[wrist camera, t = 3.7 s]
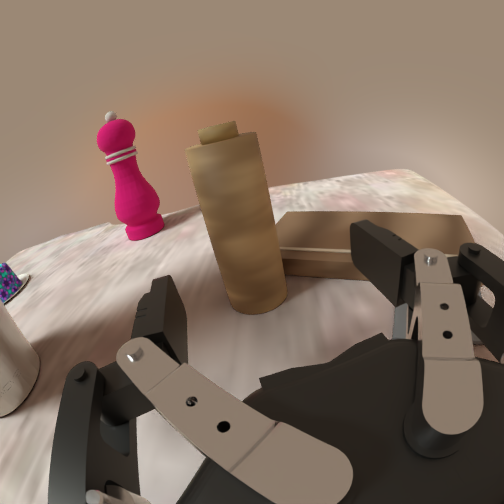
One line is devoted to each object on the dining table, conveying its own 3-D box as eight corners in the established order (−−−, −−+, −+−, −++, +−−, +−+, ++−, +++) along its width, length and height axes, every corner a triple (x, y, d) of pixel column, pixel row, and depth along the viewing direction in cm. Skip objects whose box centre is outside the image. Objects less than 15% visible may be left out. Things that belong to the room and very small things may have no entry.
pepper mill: (165, 217, 46) (133, 106, 37) (169, 230, 40) (131, 100, 31) (127, 232, 44) (91, 122, 35) (124, 247, 38) (82, 118, 29)
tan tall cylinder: (219, 309, 21) (165, 139, 15) (246, 276, 25) (207, 127, 19) (274, 318, 19) (229, 122, 13) (295, 280, 23) (264, 114, 17)
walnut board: (252, 271, 25) (248, 255, 24) (289, 224, 33) (286, 210, 32) (481, 286, 16) (486, 267, 15) (459, 229, 23) (461, 214, 22)
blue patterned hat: (3, 313, 28) (-14, 285, 26) (-21, 315, 30) (-35, 291, 28) (40, 273, 39) (28, 248, 37) (11, 280, 40) (0, 258, 38)
